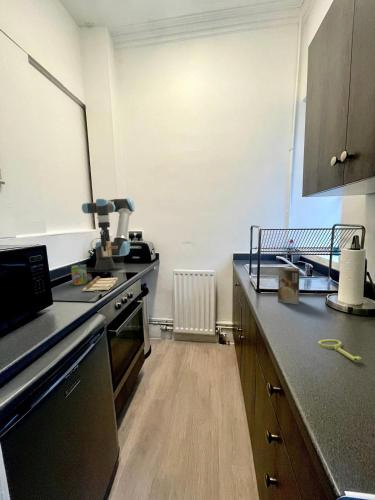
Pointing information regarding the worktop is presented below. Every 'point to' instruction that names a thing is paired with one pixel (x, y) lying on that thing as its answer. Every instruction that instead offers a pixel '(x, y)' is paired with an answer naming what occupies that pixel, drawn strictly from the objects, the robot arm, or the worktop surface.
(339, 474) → the worktop surface
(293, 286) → the coffee box
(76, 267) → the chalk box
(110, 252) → the marking gauge
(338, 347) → the key
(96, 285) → the guide board
